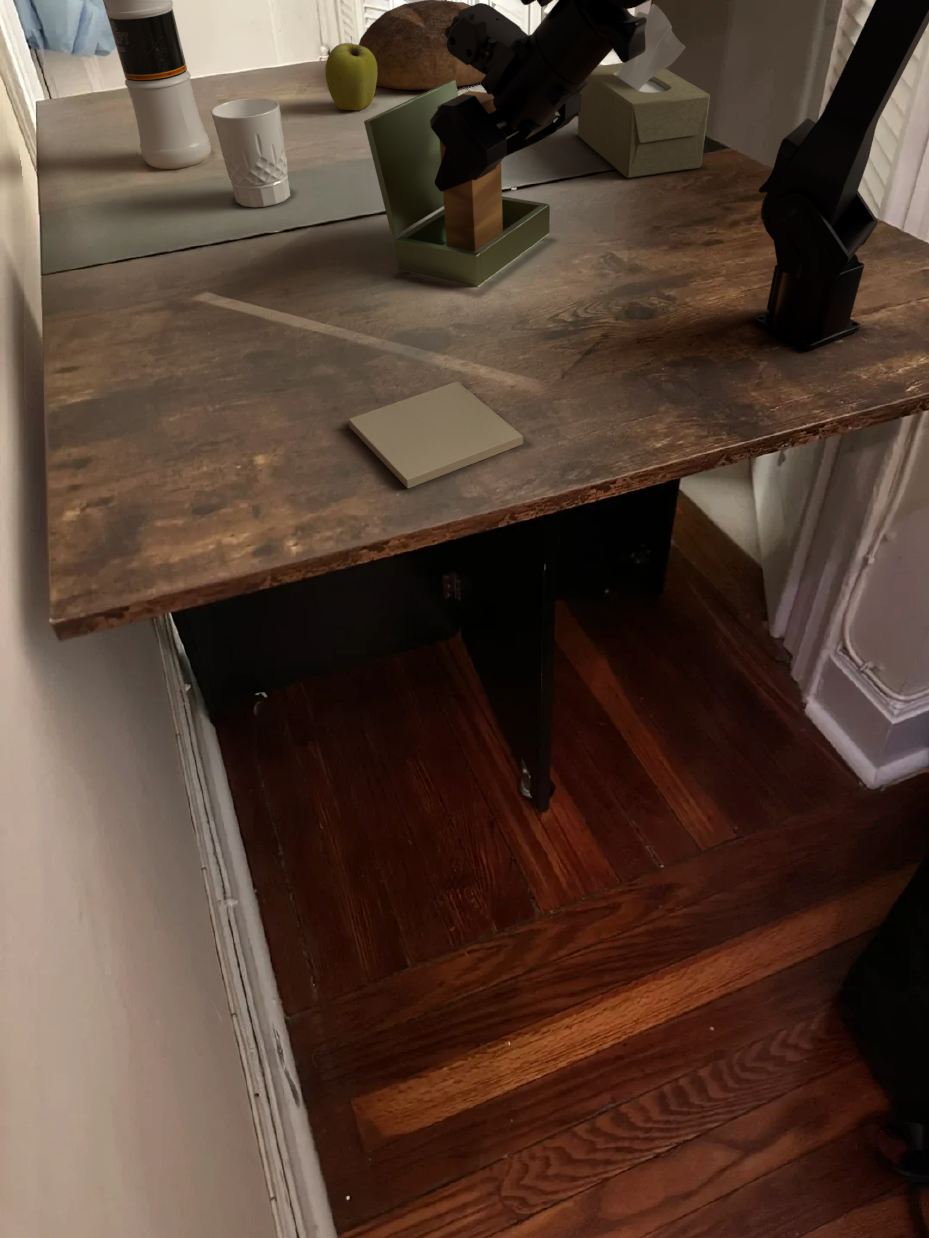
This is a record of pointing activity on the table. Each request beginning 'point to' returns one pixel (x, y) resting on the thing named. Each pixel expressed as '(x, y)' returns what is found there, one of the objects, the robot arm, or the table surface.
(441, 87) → the flat green panel
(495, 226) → the wooden block
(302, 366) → the table surface
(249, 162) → the white cup
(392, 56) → the bread
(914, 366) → the table surface
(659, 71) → the tissue box
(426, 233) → the green box
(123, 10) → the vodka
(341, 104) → the apple
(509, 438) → the tile
